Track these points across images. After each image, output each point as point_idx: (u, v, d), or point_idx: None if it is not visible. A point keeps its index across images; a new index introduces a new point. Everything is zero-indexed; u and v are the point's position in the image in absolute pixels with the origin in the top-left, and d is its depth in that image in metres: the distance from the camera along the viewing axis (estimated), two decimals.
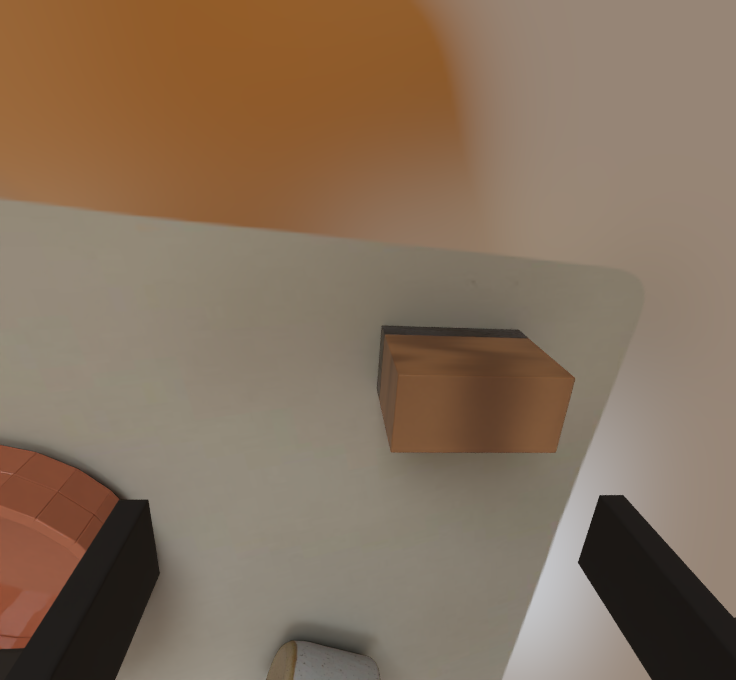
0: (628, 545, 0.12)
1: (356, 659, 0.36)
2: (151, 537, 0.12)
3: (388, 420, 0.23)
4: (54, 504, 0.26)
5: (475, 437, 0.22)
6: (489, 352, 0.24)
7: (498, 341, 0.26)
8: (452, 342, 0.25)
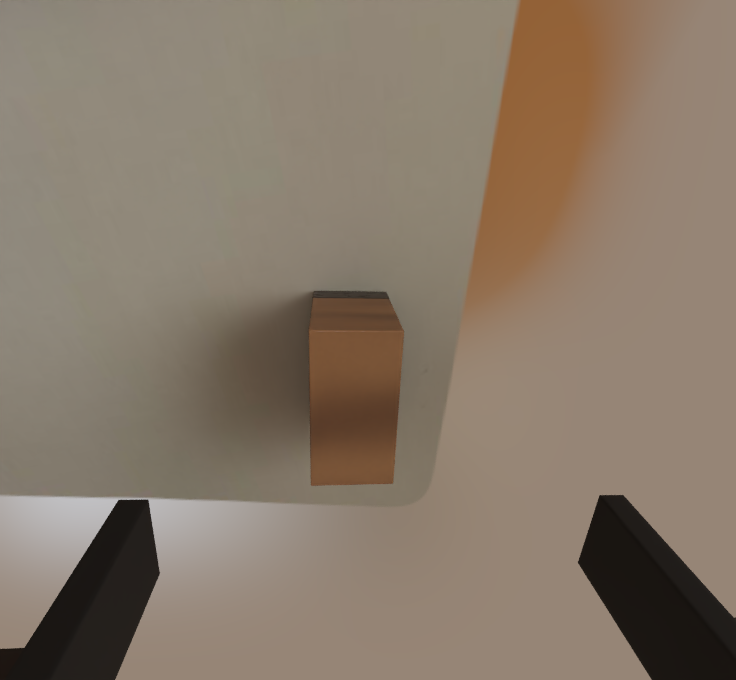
0: (628, 545, 0.12)
1: None
2: (151, 537, 0.12)
3: (331, 320, 0.21)
4: None
5: (329, 411, 0.22)
6: None
7: None
8: None
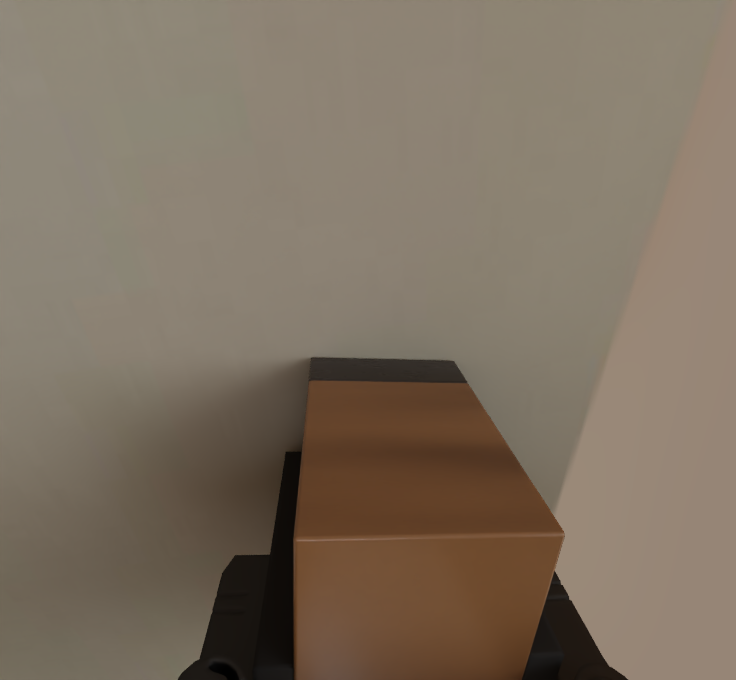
0: None
1: None
2: None
3: (355, 477, 0.08)
4: None
5: None
6: None
7: None
8: None
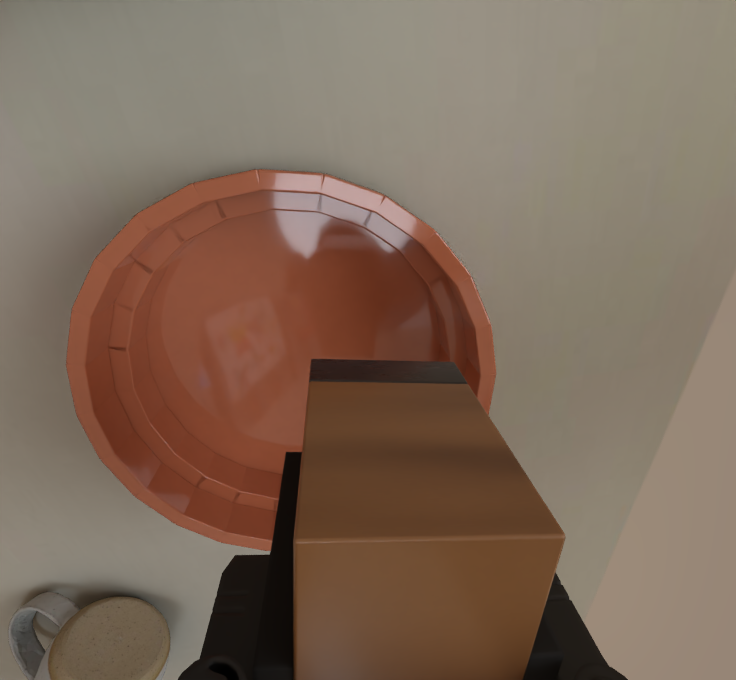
0: None
1: None
2: None
3: (355, 478, 0.08)
4: None
5: None
6: None
7: None
8: None
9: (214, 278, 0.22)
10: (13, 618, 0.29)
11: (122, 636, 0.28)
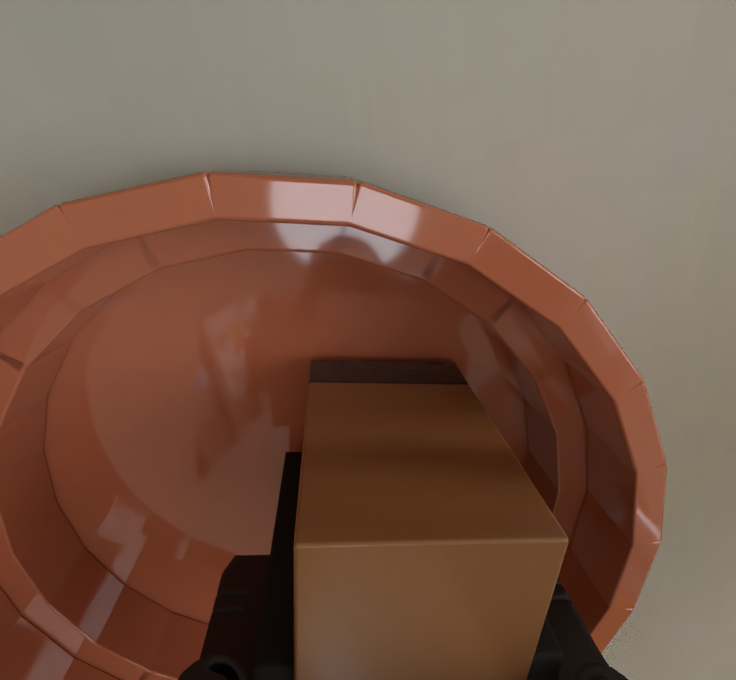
0: None
1: None
2: None
3: (355, 481, 0.08)
4: None
5: None
6: None
7: None
8: None
9: (155, 358, 0.13)
10: None
11: None
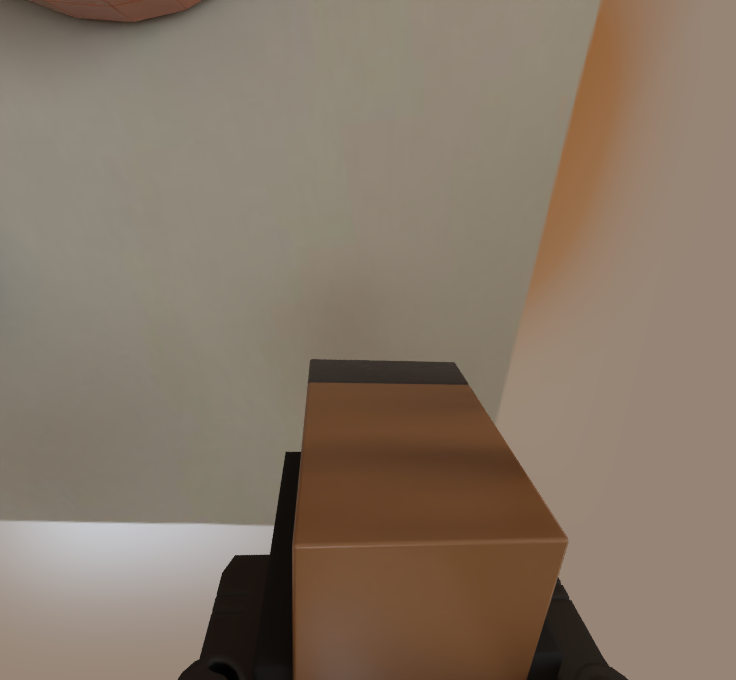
0: None
1: None
2: None
3: (354, 481, 0.08)
4: None
5: None
6: None
7: None
8: None
9: None
10: None
11: None
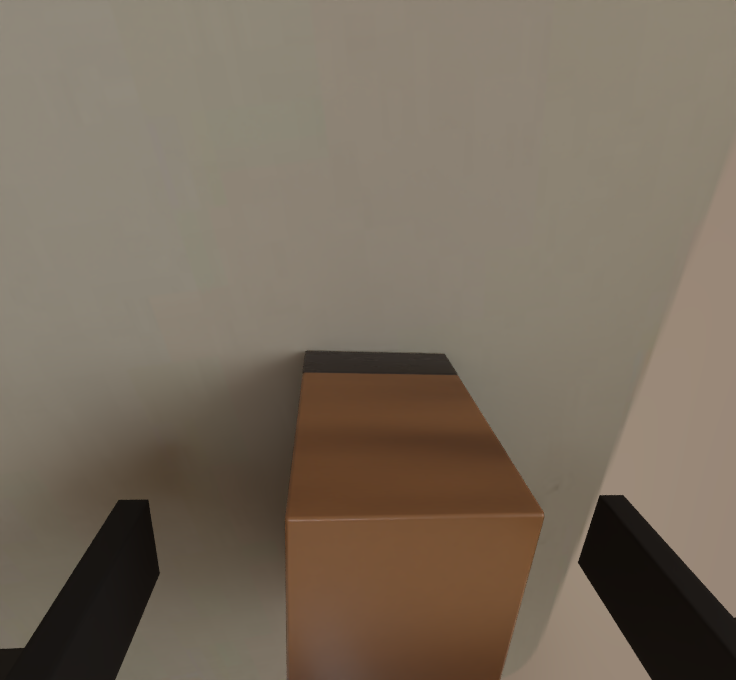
0: (627, 545, 0.12)
1: None
2: (151, 537, 0.12)
3: (345, 462, 0.08)
4: None
5: None
6: None
7: None
8: None
9: None
10: None
11: None
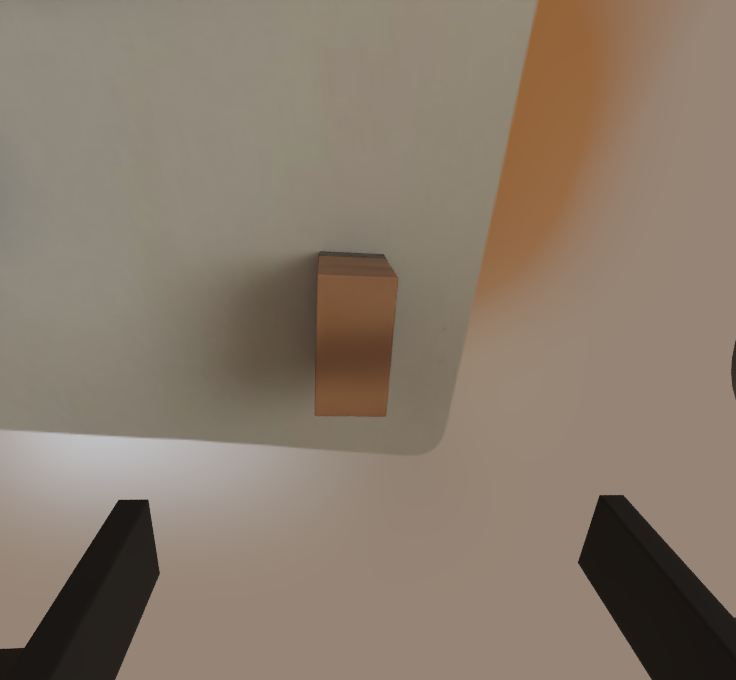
0: (628, 545, 0.12)
1: None
2: (151, 537, 0.12)
3: (335, 269, 0.25)
4: None
5: (332, 348, 0.25)
6: None
7: None
8: None
9: None
10: None
11: None
